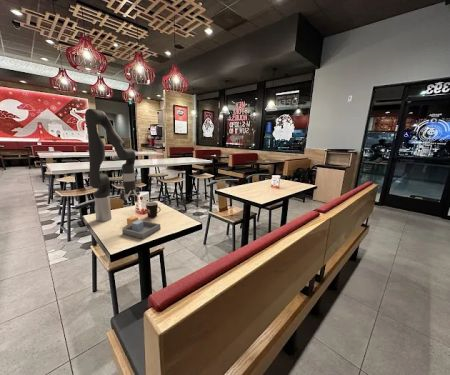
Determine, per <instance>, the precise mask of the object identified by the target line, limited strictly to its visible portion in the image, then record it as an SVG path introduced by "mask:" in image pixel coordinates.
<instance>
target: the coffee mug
mask: <svg viewBox="0 0 450 375" xmlns="http://www.w3.org/2000/svg"><path fill="white" fill-rule="evenodd" d="M158 205H159V203H158V202H156V201H155V202H154V201H149V202H147V203H145V208H146V213H147V214H146V215H147V218H150V219H155V218H156V217H158V213H160V211H161V210H162V209H161V207H160V206H158ZM158 209H159V210H158Z"/></svg>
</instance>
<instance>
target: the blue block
mask: <svg viewBox="0 0 450 375" xmlns="http://www.w3.org/2000/svg"><path fill="white" fill-rule="evenodd" d="M143 221H144V220H143ZM143 221H141V220H139V219H138V220H137V221H135V222H132V223H131V225H132V230H133V231H137V232H138V231H140V230H142V229H144V225H143Z"/></svg>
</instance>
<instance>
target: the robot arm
mask: <svg viewBox="0 0 450 375" xmlns="http://www.w3.org/2000/svg"><path fill="white" fill-rule="evenodd" d="M84 120H85V125H86V131H87V142H88V146H87V147H88V156H89V159H88V160H89V161H88V162H89V172H88V181H89V185H90V187H91V188H93V189H97V190H96V191H95V192H94V193H93V198H94V205H95V206H94V213H95V220H96V221H97V222H108V221H111V220H112V217H113V216H112V211H111V209H112V208H111V200H110V191H111V188H110V184H111V183H110V178H109V176H108V174H106V173H100V172H101V171H100V170H101V165H102V163H103V162H104V159H105V156H106V150H105V147H106V146H105V143H104V141H103V140H102V138H101V136H100V135H99V133H98V132H99V131H98V126H99V125H100V126H101V127H103V129H104V130H105V132H106V138H107V140H108V142H109V143H110V145H111V146H112V148H114V151H115V154H116V156H117V157H118V158H119V159H120V160H122V161H125V163H124V164H122V165H121V172H122V175H121V176H122V185H123V186H122V187H123V190H122V189H120V190H119V199H120V200H122V201H123V205H124V206H128V205H129V204H128V198H129V197H130V196H131V195H133V201H134V202H136V203H137V202H138V197H139V196H140V195H141V192H140V186H137V185H136V174H135V161H136V152H135V150H134V149H133V148H124V147H125V146H126V144H125V141H124V140H123V139H122V138H121V136H120V135H119V134H118V133H117V131H116V130H115V127H114V125H112V122H111V120H110V119H109V117H108V115H107V114H106V113H105V112H104V111H103V110H101V109H94V108H88V109H86V110H85V113H84Z"/></svg>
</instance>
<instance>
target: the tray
mask: <svg viewBox="0 0 450 375" xmlns="http://www.w3.org/2000/svg"><path fill="white" fill-rule="evenodd" d="M140 221H143V225H144V229H142V230H140V231H138V232H137V231H133V230H132V225H130V226H129V225H127V226H126V227H123V228H122V229H121V230H122V235H124V236H128V237H131V238H132V237H133V238H135V239H140V240H145V239H146V238H148V237H149V236H151V235H153V234H154V233H156V232H158V231H160V230H161V224H160V223H157V222H152V221H147V220H142V219H141V220H140Z"/></svg>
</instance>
